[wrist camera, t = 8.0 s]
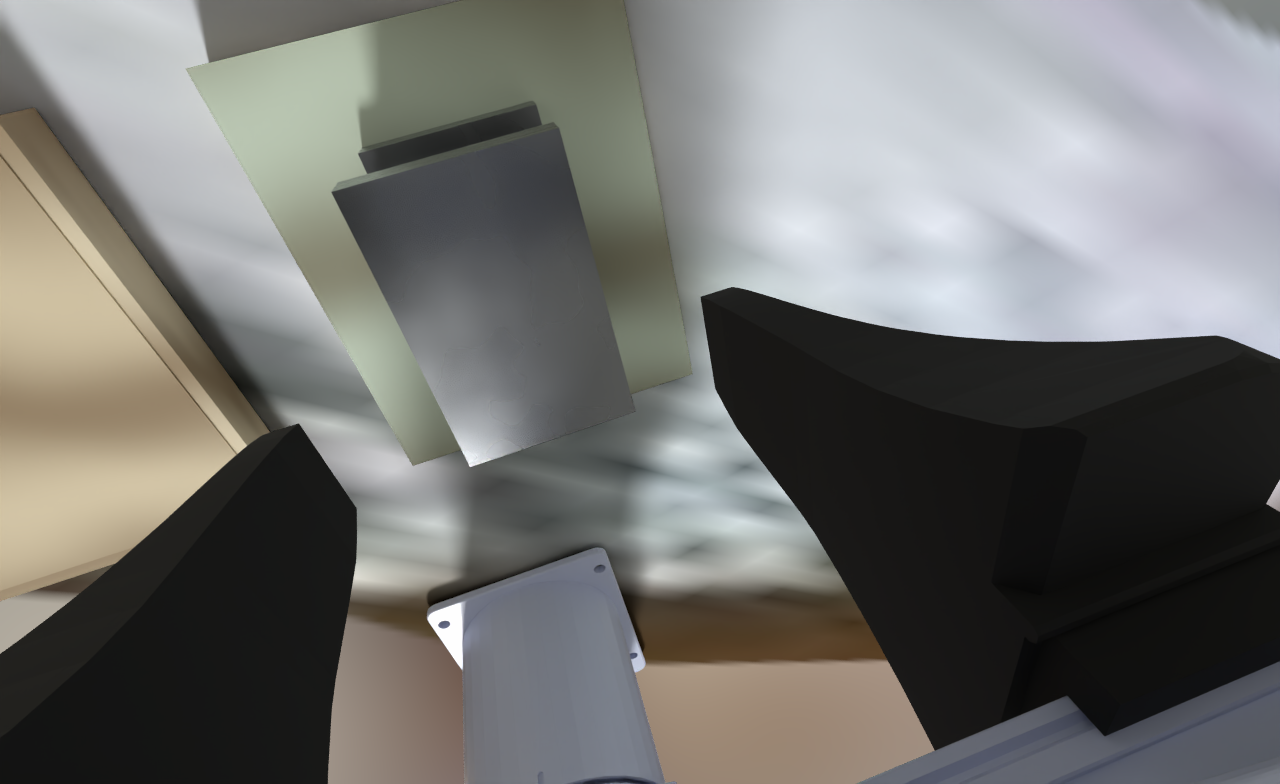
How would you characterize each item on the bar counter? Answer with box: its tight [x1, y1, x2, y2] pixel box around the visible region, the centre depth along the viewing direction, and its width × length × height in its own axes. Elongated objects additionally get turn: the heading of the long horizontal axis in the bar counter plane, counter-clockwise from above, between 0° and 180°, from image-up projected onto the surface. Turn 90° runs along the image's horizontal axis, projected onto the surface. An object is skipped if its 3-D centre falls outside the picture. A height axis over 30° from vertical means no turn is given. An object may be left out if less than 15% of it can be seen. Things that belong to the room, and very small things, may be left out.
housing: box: [331, 101, 635, 467], centre depth 15 cm, size 7×4×5 cm, turn 11°
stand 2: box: [186, 0, 692, 466], centre depth 18 cm, size 12×10×2 cm
